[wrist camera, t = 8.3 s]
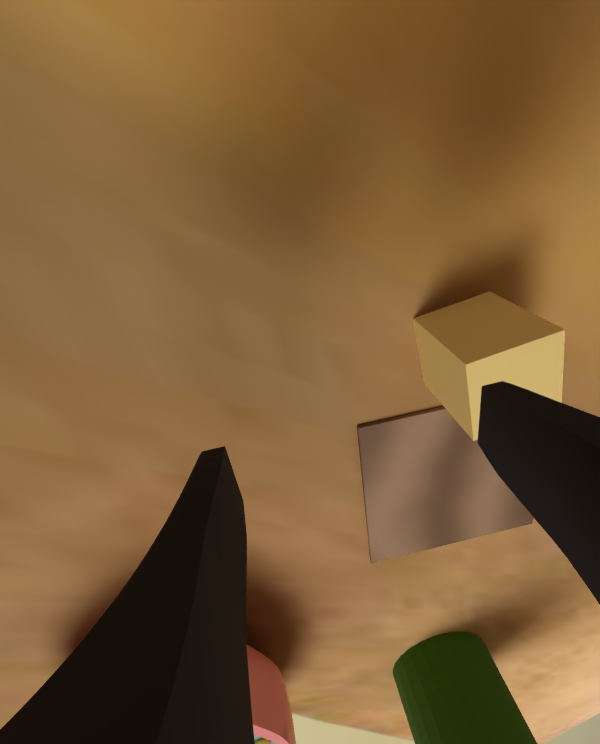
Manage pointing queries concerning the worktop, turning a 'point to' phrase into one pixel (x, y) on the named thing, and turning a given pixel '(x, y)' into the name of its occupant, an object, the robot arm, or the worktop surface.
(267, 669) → the cell model
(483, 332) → the ochre block
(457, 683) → the wine bottle
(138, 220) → the worktop surface
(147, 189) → the worktop surface
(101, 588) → the worktop surface
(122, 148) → the worktop surface
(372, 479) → the walnut base
